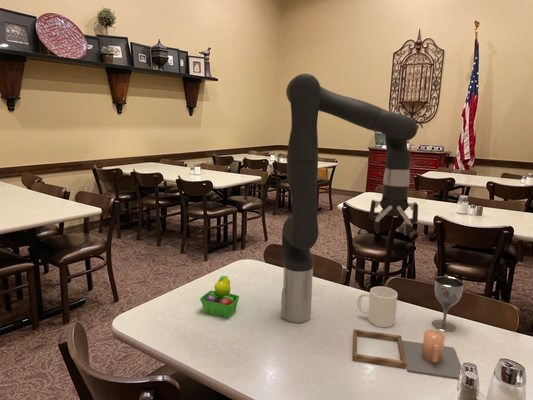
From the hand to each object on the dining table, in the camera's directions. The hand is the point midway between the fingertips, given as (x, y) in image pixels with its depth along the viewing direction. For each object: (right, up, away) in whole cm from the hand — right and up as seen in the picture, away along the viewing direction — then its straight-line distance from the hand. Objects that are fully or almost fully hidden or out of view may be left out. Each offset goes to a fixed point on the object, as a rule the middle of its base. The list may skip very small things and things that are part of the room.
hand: (391, 233), depth 122 cm
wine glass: (+17, -29, 0) cm, 34 cm away
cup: (-4, -28, +3) cm, 29 cm away
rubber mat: (+5, -33, -17) cm, 37 cm away
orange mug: (+5, -32, -17) cm, 37 cm away
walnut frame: (-8, -31, -13) cm, 35 cm away
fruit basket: (-55, -26, +7) cm, 61 cm away
